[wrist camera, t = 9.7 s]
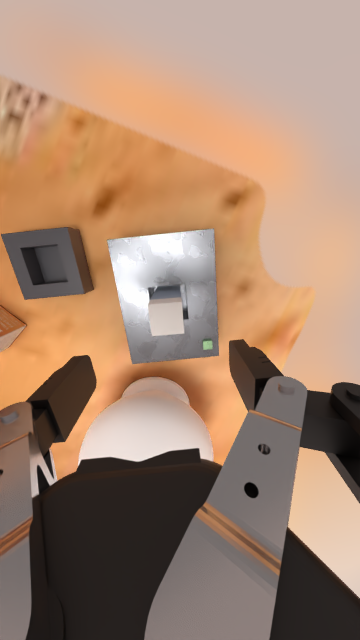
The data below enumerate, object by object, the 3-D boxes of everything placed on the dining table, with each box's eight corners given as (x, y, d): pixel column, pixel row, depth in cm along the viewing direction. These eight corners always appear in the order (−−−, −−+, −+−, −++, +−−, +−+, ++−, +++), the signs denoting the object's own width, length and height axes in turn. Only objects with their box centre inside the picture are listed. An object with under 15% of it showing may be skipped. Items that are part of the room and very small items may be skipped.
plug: (157, 286, 28) (147, 304, 18) (179, 285, 28) (181, 301, 18) (159, 308, 29) (151, 336, 19) (181, 306, 29) (184, 333, 19)
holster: (19, 236, 26) (0, 234, 23) (79, 229, 26) (67, 227, 23) (39, 295, 29) (24, 299, 26) (93, 289, 29) (84, 293, 26)
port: (119, 242, 27) (105, 239, 21) (207, 232, 26) (214, 227, 21) (138, 347, 32) (131, 365, 27) (212, 340, 32) (219, 357, 26)
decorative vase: (96, 366, 33) (-109, 661, 9) (202, 359, 33) (271, 638, 9) (115, 444, 39) (18, 747, 15) (204, 438, 39) (250, 734, 15)
